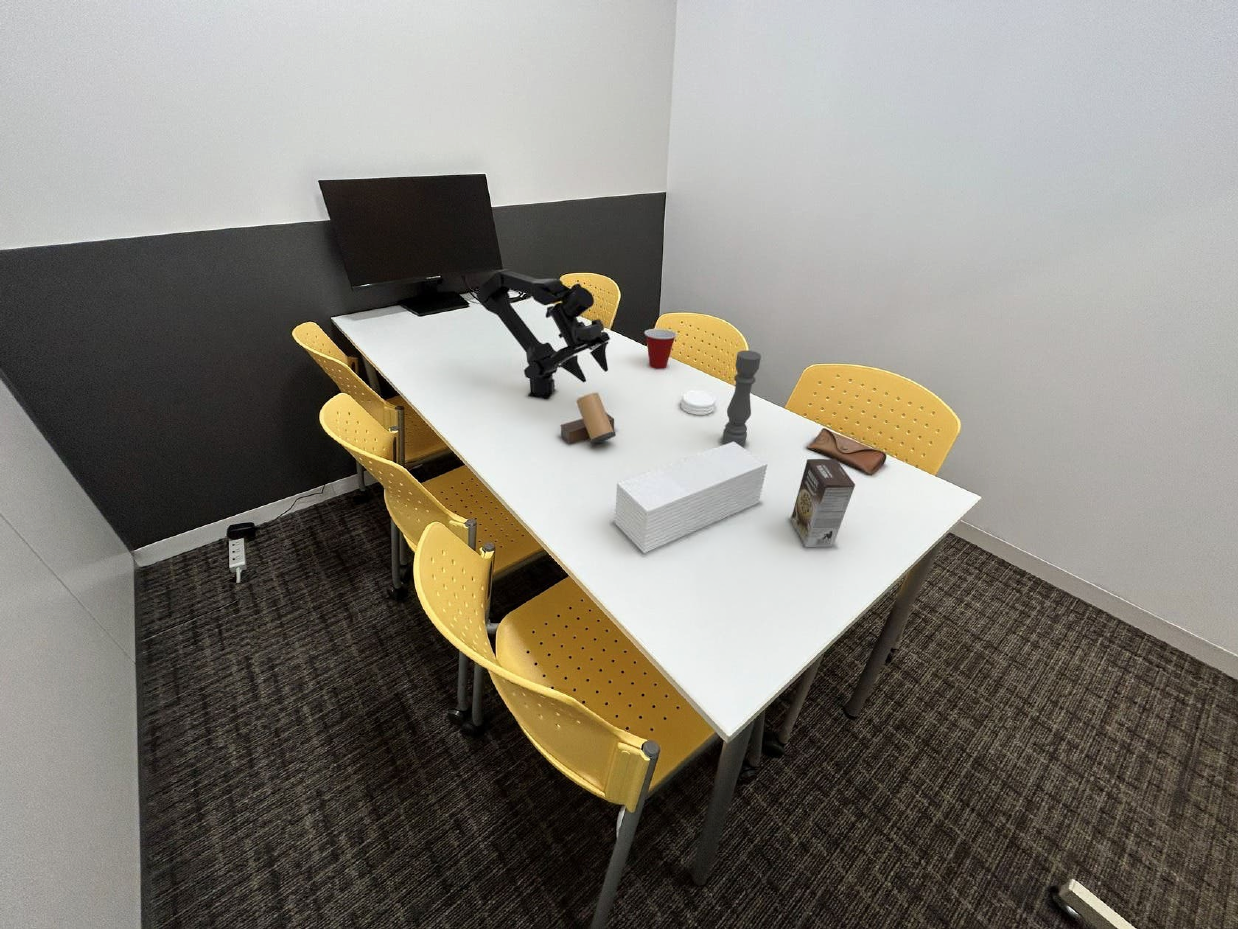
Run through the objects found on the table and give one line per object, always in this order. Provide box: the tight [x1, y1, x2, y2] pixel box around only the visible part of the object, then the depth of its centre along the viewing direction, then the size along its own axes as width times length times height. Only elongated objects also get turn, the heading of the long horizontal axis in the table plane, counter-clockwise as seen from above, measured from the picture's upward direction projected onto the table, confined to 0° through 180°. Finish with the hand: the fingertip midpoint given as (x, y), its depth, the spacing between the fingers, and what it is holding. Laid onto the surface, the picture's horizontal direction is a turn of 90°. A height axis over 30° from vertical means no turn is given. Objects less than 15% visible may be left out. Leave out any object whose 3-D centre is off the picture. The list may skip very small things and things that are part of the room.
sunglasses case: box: [807, 427, 887, 475], centre depth 138 cm, size 18×7×7 cm
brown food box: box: [790, 458, 856, 548], centre depth 109 cm, size 9×6×16 cm
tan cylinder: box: [575, 392, 617, 445], centre depth 138 cm, size 13×7×13 cm, turn 33°
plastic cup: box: [643, 328, 678, 370], centre depth 180 cm, size 11×11×12 cm
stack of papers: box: [614, 442, 768, 554], centre depth 114 cm, size 32×11×11 cm, turn 123°
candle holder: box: [721, 349, 762, 448], centre depth 136 cm, size 6×6×25 cm
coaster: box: [680, 389, 717, 416], centre depth 158 cm, size 10×10×4 cm
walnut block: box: [560, 412, 615, 445], centre depth 143 cm, size 4×14×4 cm, turn 123°
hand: (596, 376), depth 145 cm, fingers open, 9 cm apart
